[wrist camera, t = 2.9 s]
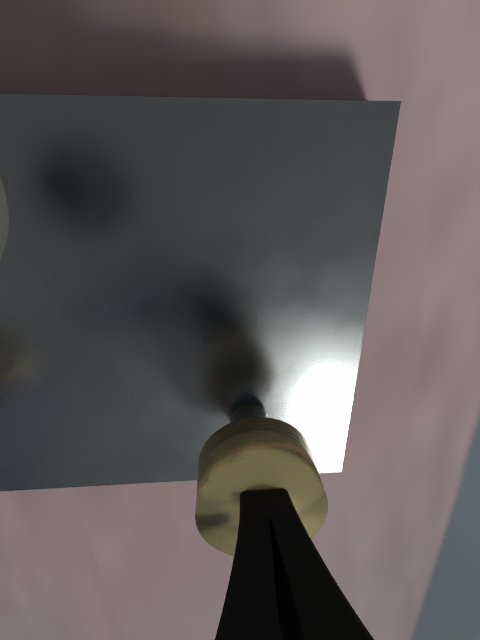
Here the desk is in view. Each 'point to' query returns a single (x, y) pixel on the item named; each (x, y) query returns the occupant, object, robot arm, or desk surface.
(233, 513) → the outer brass knob
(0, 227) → the middle white knob
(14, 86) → the desk surface
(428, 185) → the desk surface
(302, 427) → the plate
